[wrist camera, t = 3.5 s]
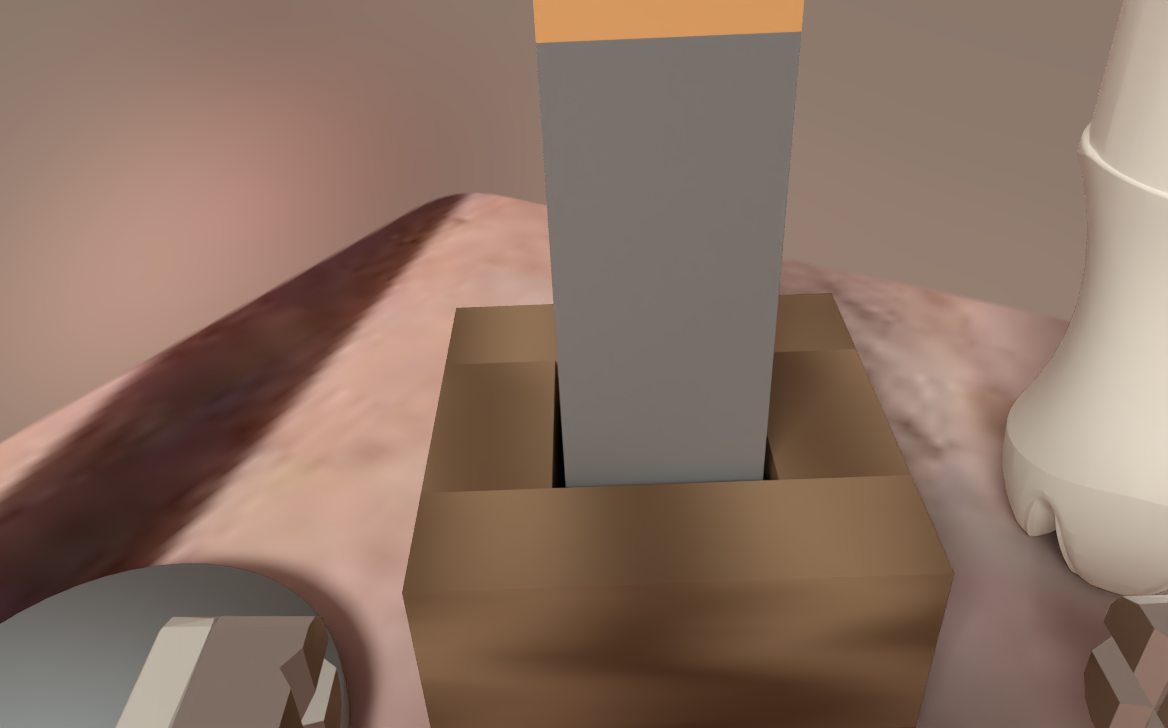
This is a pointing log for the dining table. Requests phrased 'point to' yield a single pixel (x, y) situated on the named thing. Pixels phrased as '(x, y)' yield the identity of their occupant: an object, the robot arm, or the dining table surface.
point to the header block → (670, 555)
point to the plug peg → (666, 229)
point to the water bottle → (1110, 342)
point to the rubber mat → (121, 639)
